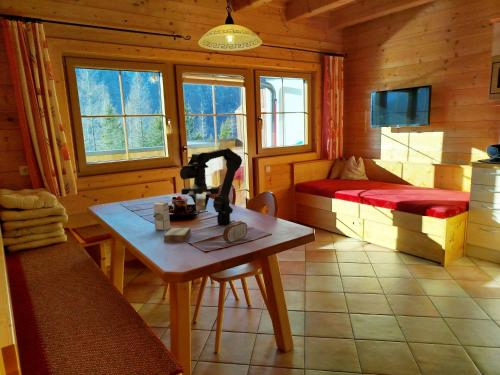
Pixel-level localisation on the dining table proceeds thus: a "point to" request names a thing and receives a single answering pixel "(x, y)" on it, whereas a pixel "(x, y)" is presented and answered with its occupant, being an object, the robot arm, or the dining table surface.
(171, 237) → the plinth
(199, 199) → the block
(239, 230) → the tin
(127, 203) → the dining table surface
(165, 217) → the syrup box
